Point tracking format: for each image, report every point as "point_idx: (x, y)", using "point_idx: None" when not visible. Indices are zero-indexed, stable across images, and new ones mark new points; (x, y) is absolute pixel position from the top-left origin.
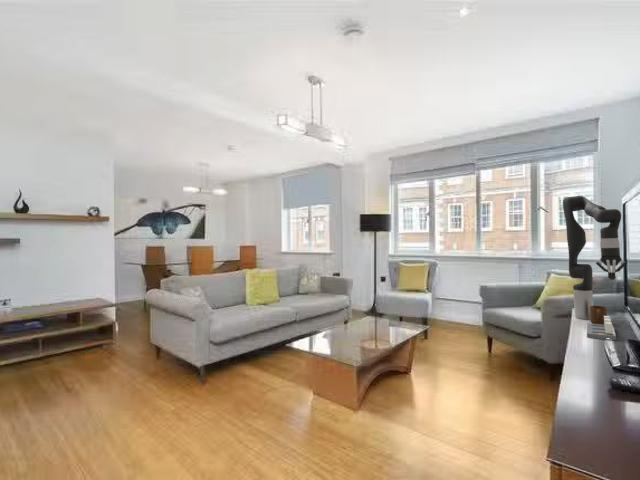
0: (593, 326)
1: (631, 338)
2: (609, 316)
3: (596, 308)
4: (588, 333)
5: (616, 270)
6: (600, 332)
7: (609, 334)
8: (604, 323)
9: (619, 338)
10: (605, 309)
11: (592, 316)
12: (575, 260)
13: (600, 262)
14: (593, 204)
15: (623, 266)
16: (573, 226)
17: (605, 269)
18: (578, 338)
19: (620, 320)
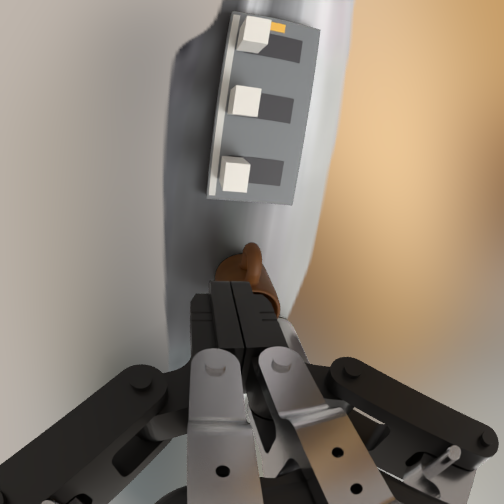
0: (280, 151)
1: (173, 62)
2: (225, 183)
3: (261, 289)
4: (315, 29)
5: (171, 394)
6: (275, 49)
7: None
8: (244, 159)
9: (213, 46)
10: None
11: (266, 274)
12: None
13: (445, 482)
14: None
15: (40, 445)
16: None
17: (350, 386)
18: (339, 18)
19: (173, 338)
